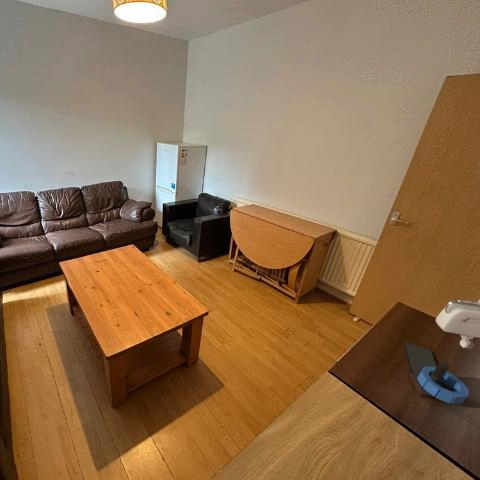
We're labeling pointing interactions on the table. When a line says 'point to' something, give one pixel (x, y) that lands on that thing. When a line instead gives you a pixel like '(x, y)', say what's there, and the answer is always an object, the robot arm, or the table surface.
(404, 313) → the table surface
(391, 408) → the table surface
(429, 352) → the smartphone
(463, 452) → the table surface
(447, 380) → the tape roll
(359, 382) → the table surface
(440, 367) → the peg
